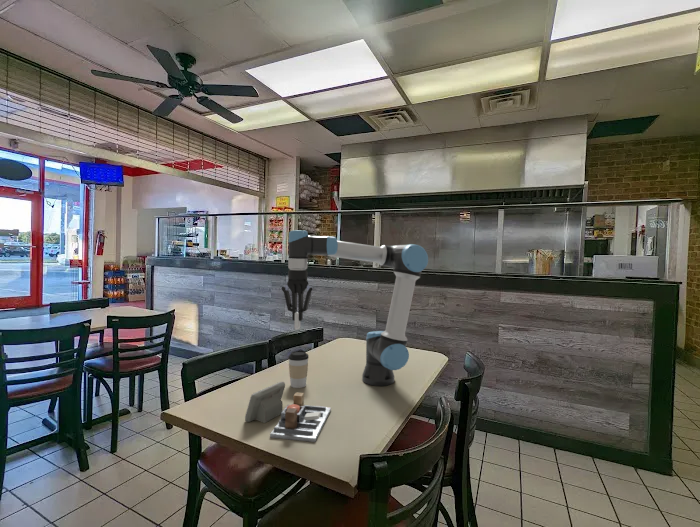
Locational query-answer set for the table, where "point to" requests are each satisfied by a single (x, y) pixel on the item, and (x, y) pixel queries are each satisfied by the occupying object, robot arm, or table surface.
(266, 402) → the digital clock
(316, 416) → the block
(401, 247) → the robot arm
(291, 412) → the dark brown wooden block
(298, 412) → the button
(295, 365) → the coffee cup
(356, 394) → the table surface
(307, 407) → the grey compartment tray
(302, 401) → the tan wooden block
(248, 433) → the table surface
